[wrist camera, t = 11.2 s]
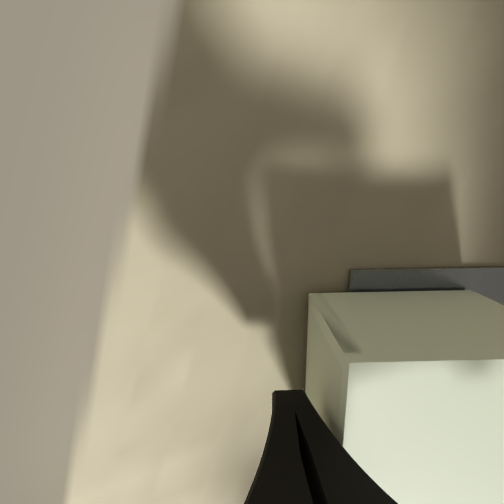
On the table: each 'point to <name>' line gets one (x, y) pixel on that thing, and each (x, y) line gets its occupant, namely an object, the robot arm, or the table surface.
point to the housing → (413, 389)
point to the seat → (430, 280)
